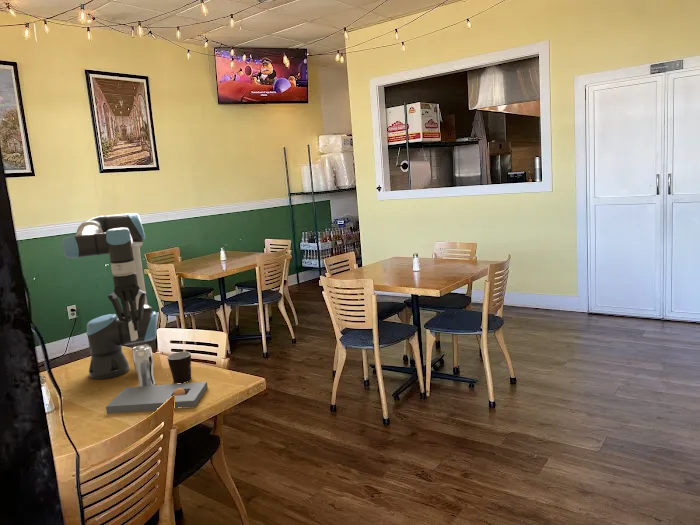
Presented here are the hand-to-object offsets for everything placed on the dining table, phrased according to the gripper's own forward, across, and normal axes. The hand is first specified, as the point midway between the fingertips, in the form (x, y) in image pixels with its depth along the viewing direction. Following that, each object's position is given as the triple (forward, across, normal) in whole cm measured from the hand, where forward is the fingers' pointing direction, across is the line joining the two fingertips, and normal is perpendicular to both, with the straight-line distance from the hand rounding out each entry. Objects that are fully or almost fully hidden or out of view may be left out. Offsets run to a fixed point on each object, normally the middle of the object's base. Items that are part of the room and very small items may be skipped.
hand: (134, 339), depth 190 cm
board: (+22, +7, -3) cm, 23 cm away
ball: (+20, +14, -3) cm, 25 cm away
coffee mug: (+23, +10, +16) cm, 29 cm away
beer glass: (+23, -3, +12) cm, 26 cm away
